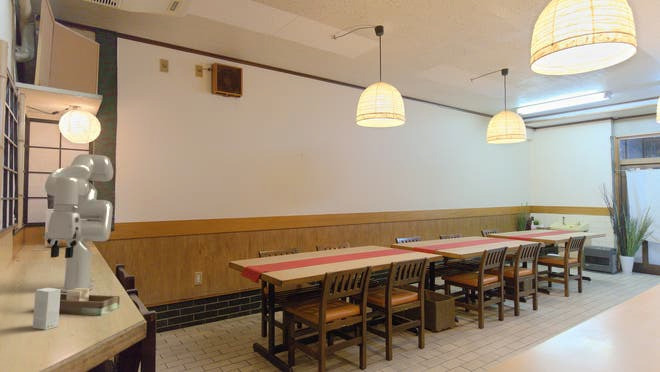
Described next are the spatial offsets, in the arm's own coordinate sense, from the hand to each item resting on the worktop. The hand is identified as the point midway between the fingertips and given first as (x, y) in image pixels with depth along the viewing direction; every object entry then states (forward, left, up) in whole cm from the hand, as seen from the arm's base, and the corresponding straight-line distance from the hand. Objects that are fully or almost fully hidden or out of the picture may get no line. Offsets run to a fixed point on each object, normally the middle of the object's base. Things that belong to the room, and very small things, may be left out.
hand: (61, 256), depth 143 cm
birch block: (0, +8, -17) cm, 18 cm away
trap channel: (0, +8, -19) cm, 21 cm away
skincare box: (+20, +12, -20) cm, 30 cm away
